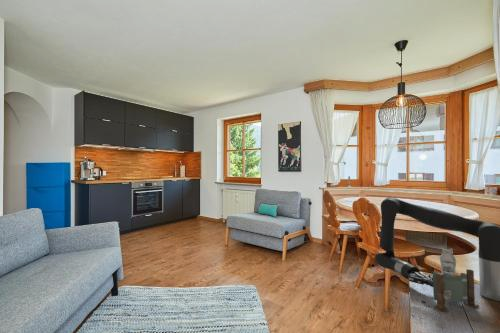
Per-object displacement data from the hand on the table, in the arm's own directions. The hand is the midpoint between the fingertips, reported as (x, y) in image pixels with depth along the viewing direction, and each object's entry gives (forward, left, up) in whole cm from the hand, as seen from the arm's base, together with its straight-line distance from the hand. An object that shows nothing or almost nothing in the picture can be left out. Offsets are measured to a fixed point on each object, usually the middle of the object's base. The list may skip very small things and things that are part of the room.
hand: (437, 286), depth 111 cm
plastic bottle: (-16, -8, -7) cm, 19 cm away
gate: (-4, +3, -5) cm, 7 cm away
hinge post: (-11, +6, -7) cm, 14 cm away
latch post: (+4, +6, -7) cm, 10 cm away
